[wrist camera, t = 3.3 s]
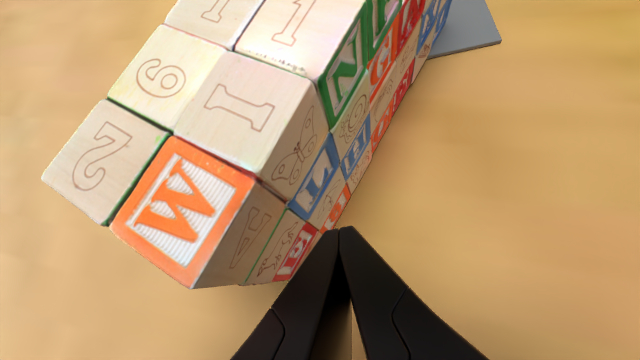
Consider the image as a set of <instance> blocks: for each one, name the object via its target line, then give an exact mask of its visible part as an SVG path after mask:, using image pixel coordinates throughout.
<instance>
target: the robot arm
mask: <svg viewBox="0 0 640 360" xmlns="http://www.w3.org/2000/svg"><path fill="white" fill-rule="evenodd" d="M351 301H352V305H353V309H354V313H355V317H356V321H357V324H358V328H359V332H360V336H361V340H362V343H363V347H364V351H365V355H366V359H367V360H489V359H488V358H487V357H486V356H485V355H483V354H482V353H481V352H480V351H479V350H477V349H476V348H475V347H474V346H473V345H471V344H470V343H469V342H468V341H467V340H465V339H464V338H463V337H462V336H461V335H460V334H458V333H457V332H456V331H455V330H454V329H452V328H451V327H450V326H449V325H448V324H447V323H445V322H444V321H443V320H442V319H441V318H440V317H439V316H437V315H436V314H435V313H434V312H433V311H432V310H431V309H430V308H429V307H428V306H427V305H426V304H425V303H424V302H423V301H422V300H421V299H420V298H419V297H418V296H417V295H416V294H415V293H414V292H413V290H412V289H411V288H409V286H408V285H407V284H406V283H405V282H404V281H403V280H402V279H401V278H400V277H399V275H398V274H397V273H396V272H395V271H394V270H393V269H392V268H391V267H390V266H389V265H388V264H387V262H386V261H385V260H384V259H383V258H382V257H381V256H380V255H379V254H378V253H377V252H376V251H375V249H374V248H373V247H372V246H371V245H370V244H369V243H368V242H367V241H366V240H365V239H364V238H363V236H362V235H361V234H360V233H359V232H358V231H357V230H356V229H355V228H354V227H353V226H348V227H342V228H340V229H331V230H326V231H325V232H324V233H323V235H322V236H321V237H320V239H319V240H318V242H317V243H316V244H315V246H314V247H313V249H312V250H311V252H310V253H309V254H308V256H307V257H306V259H305V260H304V261H303V263H302V264H301V266H300V267H299V268H298V270H297V271H296V273H295V274H294V275H293V277H292V278H291V280H290V281H289V282H288V284H287V285H286V287H285V288H284V289H283V291H282V292H281V294H280V295H279V296H278V298H277V299H276V301H275V302H274V304H273V305H272V306H271V309H269V310H268V312H267V313H266V315H265V316H264V317H263V319H262V320H261V322H260V323H259V324H258V325H257V327H256V328H255V329H254V331H253V332H252V333H251V335H250V336H249V337H248V339H247V340H246V341H245V342H244V343H243V345H242V346H241V347H240V348H239V349H238V351H237V352H236V353H235V354H234V355H233V357H232V358H231V359H230V360H352V307H351Z"/></svg>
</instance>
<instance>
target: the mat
mask: <svg viewBox="0 0 640 360" xmlns="http://www.w3.org/2000/svg"><path fill="white" fill-rule="evenodd" d="M501 41H502V39H501V37H500V34H499V32H498V30H497V28H496V25H495V23H494V21H493V18H492V16H491V14H490V11H489V9H488V7H487V5H486V2H485V0H452V2H451V5H450V9H449V13H448V17H447V20H446V22H445V24H444V26H443V28H442V30H441V32H440V33H439V35H438V37H437V39H436V41H435V43H434V44H433V46H432V48H431V49H430V53H429V54H428V56H427V58H426V59H430V58H435V57H439V56H444V55H448V54H453V53H457V52H462V51H467V50H471V49H476V48H480V47H485V46H489V45H494V44H498V43H501Z"/></svg>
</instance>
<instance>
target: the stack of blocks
mask: <svg viewBox="0 0 640 360" xmlns="http://www.w3.org/2000/svg"><path fill="white" fill-rule="evenodd" d="M451 2H452V0H177V2H176V3H175V4H174V6H173V7H172V9H171V10H170V12H169V13H168V14H167V16H166V19H165V21H164V23H163V24H161V25H159V26H158V28H157V29H156V30H155V31H154V32H153V34H152V35H151V36H150V37H149V39H148V40H147V42H146V43H145V44H144V46H143V47H142V48H141V50H140V51H139V52H138V54H137V55H136V56H135V57H134V59H133V60H132V61H131V62H130V64H129V65H128V66H127V68H126V69H125V70H124V72H123V73H122V74H121V75H120V77H119V78H118V79H117V81H116V82H115V83H114V85H113V86H112V87H111V89H110V90H109V92H108V94H107V99H103V100H100V101H99V102H98V103H97V104H96V106H95V107H94V108H93V109H92V110H91V111H90V113H89V114H88V115H87V117H86V118H85V119H84V121H83V122H82V123H81V124H80V126H79V127H78V128H77V130H76V131H75V132H74V134H73V135H72V136H71V138H70V139H69V140H68V141H67V143H66V144H65V145H64V147H63V148H62V149H61V150H60V151H59V153H58V154H57V155H56V156H55V158H54V159H53V160H52V161H51V163H50V164H49V165H48V166H47V168H46V169H45V171H44V173H43V175H42V177H41V178H42V181H43V182H44V183H46V184H47V185H49V186H50V187H51V188H53V189H54V190H55V191H56V192H58V193H59V194H60V195H62V196H63V197H64V198H66V199H67V200H68V201H69V202H71V203H72V204H73V205H75V206H76V207H77V208H79V209H80V210H81V211H82V212H84V213H85V214H86V215H87V216H88V217H90V218H91V219H92V220H93V221H95V222H96V223H97V224H99V225H102V226H106V227H109V229H110V231H111V232H112V233H113V234H114V235H115V236H116V237H117V238H118V239H120V240H121V241H123V242H124V243H125V244H127V245H128V246H129V247H131V248H132V249H133V250H135V251H136V252H137V253H139V254H140V255H141V256H143V257H144V258H145V259H147V260H148V261H150V262H151V263H152V264H154V265H155V266H156V267H158V268H159V269H161V270H162V271H163V272H165V273H166V274H167V275H169V276H170V277H172V278H173V279H174V280H176V281H177V282H178V283H180V284H182V285H183V286H185V287H187V288H189V289H198V288H208V287H217V286H226V285H234V284H238V285H239V286H246V285H251V284H252V285H256V284H265V283H270V282H274V281H284V280H288V279H289V280H291V278H292V277H293V275H294V274H295V273H296V271H297V270H298V268H299V267H300V266H301V264H302V263H303V261H304V260H305V259H306V257H307V256H308V254H309V253H310V252H311V250H312V249H313V247H314V246H315V244H316V243H317V242H318V240H319V239H320V237H321V236H322V235H323V233H324V232H325V231H326V230H331V229H333V228H334V226H335V224H336V222H337V220H338V219H339V217H340V215H341V213H342V211H343V210H344V208H345V206H346V204H347V202H348V201H349V199H350V196H351V195H352V193H353V192H354V190H355V188H356V187H357V185H358V183H359V181H360V179H361V178H362V176H363V174H364V172H365V170H366V168H367V167H368V165H369V163H370V161H371V159H372V153H373V152H374V151H375V149H376V147H377V145H378V143H379V141H380V139H381V138H382V136H383V134H384V132H385V130H386V129H387V127H388V125H389V123H390V121H391V118H392V116H393V114H394V112H395V111H396V109H397V107H398V105H399V104H400V102H401V100H402V98H403V96H404V95H405V92H406V91H407V89H408V87H409V85H410V84H412V83H413V82H414V80H415V78H416V76H417V74H418V73H419V71H420V69H421V67H422V65H423V64H424V62H425V60H426V58H427V56H428V54H429V53H430V49H431V48H432V46H433V44H434V43H435V41H436V39H437V37H438V35H439V33H440V32H441V30H442V28H443V26H444V24H445V22H446V20H447V17H448V13H449V9H450V5H451Z"/></svg>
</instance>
